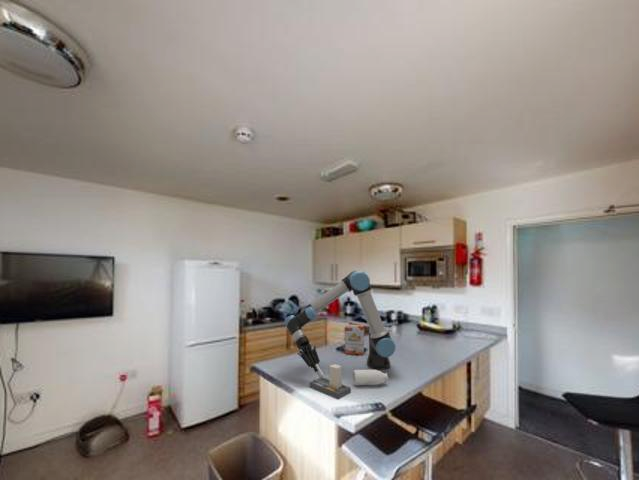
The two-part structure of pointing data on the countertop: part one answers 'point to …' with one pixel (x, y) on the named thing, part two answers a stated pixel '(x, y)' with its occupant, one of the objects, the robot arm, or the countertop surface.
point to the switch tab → (335, 376)
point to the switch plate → (329, 388)
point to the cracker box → (354, 339)
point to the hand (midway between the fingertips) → (321, 376)
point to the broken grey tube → (368, 377)
